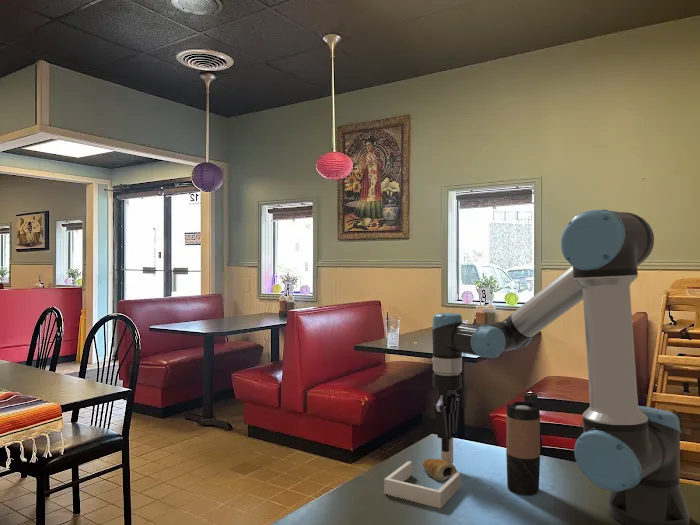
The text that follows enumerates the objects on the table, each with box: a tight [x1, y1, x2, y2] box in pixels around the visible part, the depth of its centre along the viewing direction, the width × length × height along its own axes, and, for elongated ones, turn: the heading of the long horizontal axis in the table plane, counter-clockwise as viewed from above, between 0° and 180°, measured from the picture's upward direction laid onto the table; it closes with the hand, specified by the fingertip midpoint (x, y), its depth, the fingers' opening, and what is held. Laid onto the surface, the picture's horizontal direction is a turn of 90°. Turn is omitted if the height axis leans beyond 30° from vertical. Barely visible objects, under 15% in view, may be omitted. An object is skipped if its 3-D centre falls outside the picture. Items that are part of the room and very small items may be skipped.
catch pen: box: [383, 460, 462, 509], centre depth 128 cm, size 14×13×4 cm
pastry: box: [422, 458, 458, 482], centre depth 138 cm, size 9×7×4 cm
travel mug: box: [505, 401, 541, 497], centre depth 128 cm, size 8×8×20 cm
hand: (447, 462), depth 141 cm, fingers closed
